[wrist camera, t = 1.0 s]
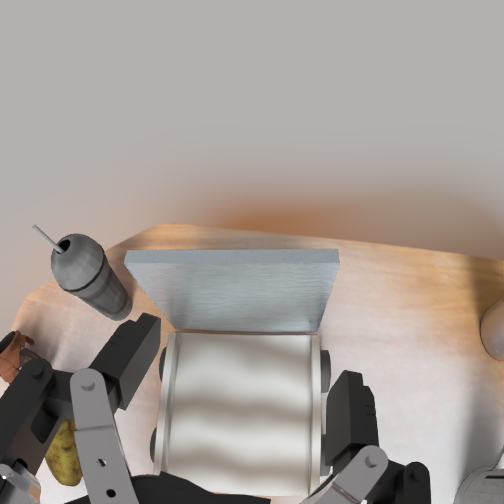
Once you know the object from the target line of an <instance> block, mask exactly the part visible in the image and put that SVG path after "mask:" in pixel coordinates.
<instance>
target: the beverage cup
mask: <svg viewBox="0 0 504 504" xmlns="http://www.w3.org/2000/svg"><path fill="white" fill-rule="evenodd" d="M32 228H33V229H34V230H35V231H36V232H37V233H38V234H39V235H40V236H42V237H43V238H44V239H45V240H46V241H47V242H48V243H49V244H50V245H51V246H52V247H54V249H53V252H52V255H51V269H52V272H53V274H54V277H55V279H56V281H57V282H58V283H59V285H60V287H61V288H62V289H63V290H64V291H67V292H69V293H71V294H73V295H75V296H78V297H79V298H80V299H82V300H83V301H85V302H86V303H87V304H89V305H90V306H92V307H93V308H95V309H96V310H98V311H99V312H101V313H102V314H103V315H105V316H106V317H109V318H111V319H112V320H115V321H119V320H122V319H124V318H126V317H127V316H128V315H129V313H130V312H131V309H132V300H131V298H130V297H129V295H128V293H127V292H126V290H125V289H124V287H123V286H122V284H121V282H120V281H119V279H118V278H117V276H116V275H115V273H114V272H113V270H112V268H111V267H110V265H109V264H108V260H107V257H106V255H105V253H104V250H103V248H102V246H100V244H98V243H97V242H96V241H95V240H93V239H92V238H90V237H88V236H86V235H83V234H70V235H67V236H65V237H63V238H62V239H61V240H60V241H59V242H58V243H57V244H56V243H54V242H53V241H52V240H51V239H50V238H49V237H48V236H47V235H46V234H44V233H43V232H42V231H41V230H40V229H39V228H38V227H37V226H36V225H35V224H34V225H33V226H32Z"/></svg>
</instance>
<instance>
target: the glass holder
mask: <svg viewBox="0 0 504 504" xmlns="http://www.w3.org/2000/svg"><path fill="white" fill-rule="evenodd" d="M503 453H504V446H503V448H502V449H501V451H500V453H499V455H498V457H497V458H496V460H495V462H494V464H493V465H492V467H489V466H484V467H481V468H479V469H477V470H475V471H474V472H472V473H471V474H470V475H469V476H468V477H467V478H466V479H465V480H464V481H463V483H462V484H461V486H460V487H459V489H458V491H457V493H456V496H455V499H454V504H504V469H495V466H496V465H497V464H498V462H499V460H500V459H501V457H502V455H503Z"/></svg>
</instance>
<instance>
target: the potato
mask: <svg viewBox="0 0 504 504" xmlns="http://www.w3.org/2000/svg"><path fill="white" fill-rule="evenodd" d="M75 430H76V425H75V420H71V419H67V418H65V419H64V421H63V423H62V424H61V426H60V428H59V430H58V432H57V434H56V436H55V437H54V439H53V441H52V443H51V445H50V447H49V449H48V451H47V453H46V455H45V460H46V462H47V465H48V467H49V469H50V471H51V472H52V474H53V476H54V477H55V478H56V480H57V481H58V482H59V483H61V484H62V485H66V486H76V485H77V484H79V482H80V481H81V478H82V469H81V466H80V461H79V456H78V451H77V446H76V441H75V435H74V431H75Z"/></svg>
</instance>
